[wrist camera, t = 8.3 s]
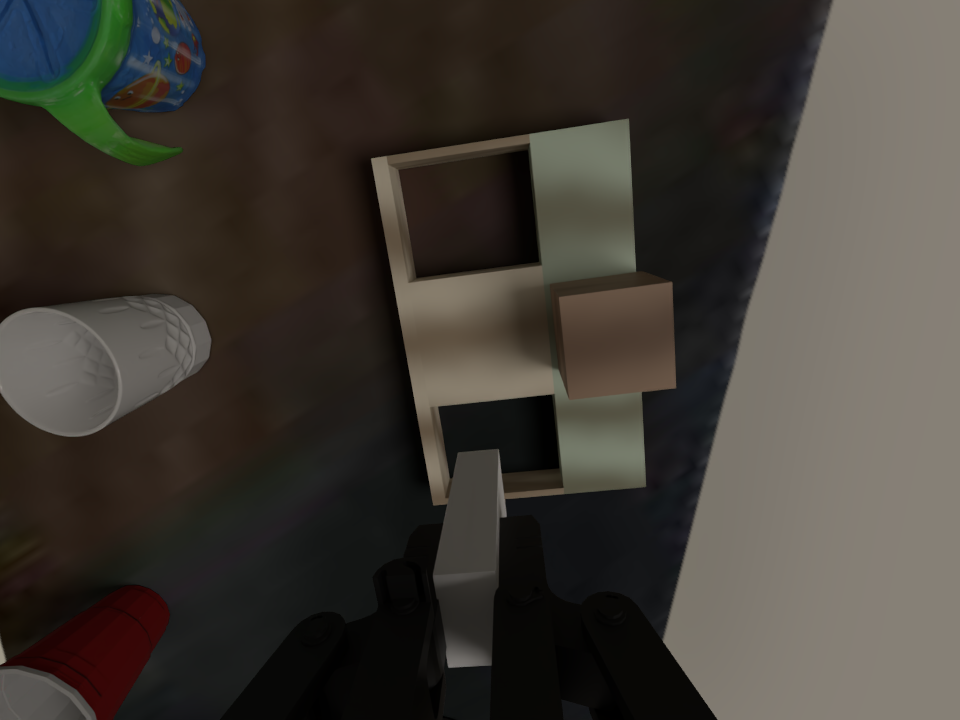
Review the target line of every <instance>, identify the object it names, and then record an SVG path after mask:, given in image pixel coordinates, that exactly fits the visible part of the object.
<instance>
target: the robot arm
mask: <svg viewBox="0 0 960 720" xmlns="http://www.w3.org/2000/svg"><path fill="white" fill-rule="evenodd" d="M373 582H374V587H375V591H376V596H377V601H378V609H377V612H375V613H373V614H372V615H370V616H367V617H365V618H362V619H359V620H356V621H353V622H350V623H347V624H345V620H344V619H343V618H342V616H341V615H340V614H337V613H335V612H321V613H318V614H314V615H311V616H310V617H308V618H306V619H305V620H303V621H301V622H300V623H299V624H298V625H297V626H296V627H295V628H294V629H293V630H292V631H291V632H290V634H289V635H288V636H287V637H286V639H285V640H284V641H283V642H282V643H281V645H280V646H279V647H278V648H277V650H276V651H275V652H274V653H273V655H272V656H271V657H270V658H269V660H268V661H267V662H266V663H265V665H264V666H263V667H262V668H261V670H260V671H259V672H258V673H257V674H256V676H255V677H254V678H253V679H252V681H251V682H250V683H249V684H248V686H247V687H246V688H245V689H244V691H243V692H242V693H241V694H240V696H239V697H238V698H237V699H236V701H235V702H234V703H233V704H232V705H231V707H230V708H229V709H228V710H227V712H226V713H225V714H224V715H223V717H222V718H221V719H220V720H450V719H447V718H443V710H444V702H445V694H446V679H445V673H444V663H445V656H447V662H448V668H451V667H468V666H486V665H492V670H491V702H490V720H564V719H563V711H562V702H561V699H562V700H566V701H570V702H573V703H577V704H580V705H584V706H588V707H589V711H590V714H591V716H592V719H593V720H717V718H716V717H715V715H714V714H713V713H712V711H711V710H710V708H709V707H708V705H707V704H706V703H705V701H704V700H703V698H702V697H701V696H700V694H699V693H698V691H697V690H696V688H695V687H694V685H693V684H692V683H691V681H690V680H689V678H688V677H687V675H686V674H685V673H684V671H683V670H682V668H681V667H680V666H679V664H678V663H677V662H676V660H675V658H674V657H673V655H672V654H671V653H670V651H669V650H668V648H667V647H666V645H665V644H664V643H663V641H662V640H661V638H660V637H659V635H658V634H657V633H656V631H655V630H654V628H653V627H652V625H651V624H650V623H649V621H648V620H647V618H646V617H645V615H644V614H643V613H642V611H641V610H640V608H639V607H638V606H637V605H636V604H635V603H634V602H633V601H632V600H631V599H630V598H628V597H626V596H624V595H622V594H620V593H615V592H610V591H607V592H598V593H595V594H593V595H591V596H588V598H587V599H586V600H585V601H584V602H583V603H582V605H580V604H575V603H571V602H567V601H564V600H562V599H560V598H559V597H557V596H556V595H555V594H553V593H552V592H551V590H550V589H549V587H548V584H547V580H546V572H545V564H544V556H543V548H542V540H541V531H540V524H539V523H538V522H537V521H536V520H535V518H534V517H533V516H532V515H526V516H514V517H506V507H505V498H504V490H503V482H502V474H501V466H500V457H499V449H493V450H482V451H471V452H460V453H458V456H457V460H456V465H455V470H454V475H453V480H452V485H451V489H450V494H449V499H448V504H447V509H446V514H445V518H444V523H441V524H429V525H419V526H418V527H417V529H416V530H415V531H414V532H413V533H412V534H411V535H410V537H409V540H408V544H407V547H406V550H405V553H404V558H400V559H395V560H393V561H390V562H388V563H386V564H384V565H383V566H382V567H381V568H379V569H378V570H377V571H376V573H375V574H374V576H373Z"/></svg>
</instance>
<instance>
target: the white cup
mask: <svg viewBox="0 0 960 720" xmlns="http://www.w3.org/2000/svg"><path fill="white" fill-rule="evenodd" d="M210 347H211V337H210V334H209V330H208V327H207V324H206V321H205V320H204V319H203V317H202V316H201V315H200V314H199V313H198V311H197V310H196V309H195V308H194V307H193V305H191V304H189V303H187V302H185V301H184V300H182V299H180V298H178V297H176V296H174V295H164V294H148V295H141V296H124V297H116V298H105V299H96V300H89V301H81V302H74V303H66V304H59V305H51V306H43V307H35V308H28V309H24V310H20V311H18V312H16V313H14V314H12V315H10V316H9V317H7V318H6V319H5V320H4V321H3V322H2V323H1V324H0V393H1V394H2V396H3V397H4V399H5V400H6V401H7V403H8V404H9V405H10V406H11V407H12V408H13V410H14V411H15V412H17V413H18V414H19V415H20V416H21V417H22V418H24V419H25V420H26V421H28V422H29V423H31V424H32V425H34V426H36V427H38V428H40V429H42V430H44V431H47V432H49V433H53V434H56V435H61V436H69V437H77V436H85V435H89V434H92V433H95V432H97V431H99V430H101V429H102V428H104V427H106V426H108V425H109V424H111V423H113V422H114V421H116V420H118V419H120V418H121V417H123V416H125V415H127V414H128V413H130V412H132V411H134V410H135V409H137V408H139V407H141V406H143V405H144V404H146V403H148V402H150V401H151V400H153V399H155V398H157V397H158V396H159V395H161V394H163V393H164V392H166V391H168V390H169V389H171V388H173V387H174V386H175V385H177V384H178V383H179V382H180V381H182V380H184V379H186V378H188V377H189V376H191V375H193V374H195V373H197V372H198V371H199V370H200V369H201V367H202V366H203V365H204V364H205V362H206V361H207V360H208V358H209V354H210Z"/></svg>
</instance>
